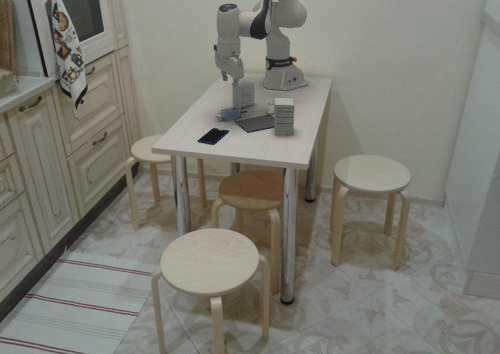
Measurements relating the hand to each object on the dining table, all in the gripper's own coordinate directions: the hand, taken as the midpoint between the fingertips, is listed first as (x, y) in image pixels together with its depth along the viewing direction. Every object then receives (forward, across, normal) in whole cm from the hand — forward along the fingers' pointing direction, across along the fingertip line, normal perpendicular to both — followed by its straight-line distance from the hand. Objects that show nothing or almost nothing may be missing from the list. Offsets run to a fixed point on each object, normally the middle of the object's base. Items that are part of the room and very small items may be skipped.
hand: (229, 83), depth 189 cm
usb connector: (+15, 0, 0) cm, 15 cm away
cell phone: (+16, -13, +13) cm, 24 cm away
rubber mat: (+15, -10, -8) cm, 20 cm away
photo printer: (+15, +11, -11) cm, 22 cm away
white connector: (+15, -1, -18) cm, 24 cm away
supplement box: (+15, -21, -13) cm, 29 cm away
